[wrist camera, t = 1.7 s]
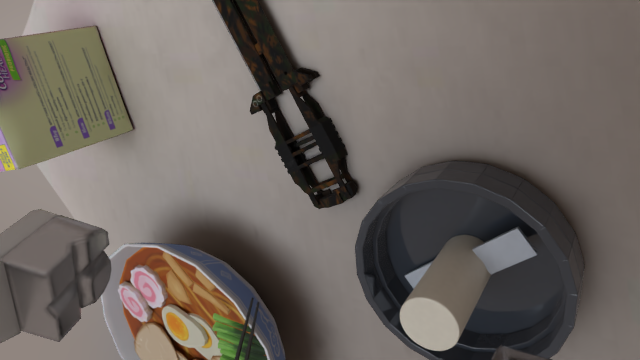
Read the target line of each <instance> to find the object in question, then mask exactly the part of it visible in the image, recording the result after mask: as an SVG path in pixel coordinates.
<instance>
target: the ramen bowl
mask: <svg viewBox="0 0 640 360" xmlns="http://www.w3.org/2000/svg"><path fill="white" fill-rule="evenodd" d="M109 259H110V260H111V269H112V270H111V276H110V280H109V282H108V285H107V287H106V289H105V291H104V293H103V294H102V295H101V301H102V307H103V313H104V319H105V322H106V324H107V326H108V328H109V331H110V333H111V335H112V338H113V340H114V342H115V345H116V347H117V350H118V352H119V354H120V356H121V358H122V359H123V360H286V358H285V351H284V348H283V344H282V341H281V338H280V335H279V332H278V329H277V325H276V322H275V319H274V318H273V316H272V315H271V313H270V312H269V310H268V309H267V307H266V306H265V304H264V303H263V301H262V300H261V298H260V297H259V295H258V294H257V292H256V291H255V289H254V288H253V287H252V286H251V285H250V284H249V283H248V282H247V281H246V280H245V279H244V278H243V277H241V276H240V275H239V274H238V273H237V272H236V271H235V270H234V269H233V268H232V267H231V266H230V265H228V264H227V263H226V262H224V261H222V260H220V259H218V258H216V257H214V256H212V255H210V254H208V253H205V252H203V251H201V250H199V249H196V248H193V247H190V246H186V245H177V244H162V243H129V244H124V245H123V246H121V247H120V248H119V249H118V250H116V251H115V252H114V253H113V254H112V255H110V256H109Z"/></svg>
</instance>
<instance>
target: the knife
mask: <svg viewBox="0 0 640 360" xmlns="http://www.w3.org/2000/svg"><path fill="white" fill-rule="evenodd" d="M212 1H213V3H214V5H215V7H216V9H217V11H218V13H219V14H220V16H221V18H222V20H223V22H224V24H225V26H226V28H227V30H228V31H229V33H230V35H231V37H232V39H233V41H234V43H235V45H236V47H237V49H238V50H239V52H240V54H241V56H242V58H243V60H244V62H245V64H246V66H247V67H248V69H249V71H250V73H251V75H252V77H253V79H254V81H255V83H256V84H257V86H258V88H259V90H260V92H258V93H257V94H255V95H254V96H253V99H252V103H251V107H250V112H251V114H254V113H256V112H259V111H261V110H263V111H264V113H265V114H266V115H267V120H268V125H269V130H270V132H271V134H272V136H273V138H274V139H275V141H276V146H275V149H276V150H278V152H279V153H278V155H279V156H281V158H282V159H281V160H282V162H284V163H285V165H284V166H285V168H287V169H288V173H289V174H290V175H291V177H292V179H293V180H294V182H295V184H297V185H298V186H300V188H301V189H302V190H303V191H304V192H305V193H307V194H308V195H309V197H310V199H311V201H312V203H313V204H314V206H315V207H317V208H319V209H321V208H328V207H332V206H335V205H338V204H341V203H343V202H344V201H346V200H347V199H349V198H352V197H353V196H354V195H356V192H357V187H356V185H355V183H354V182H353V181H352V179H351V177H350V175H349V173H348V171H347V165H346V159H345V156H346V155H348V154H347V152H346V150H345V148H344V147H345V145H344V144H342V142H341V141H342V140H341V138H339V136H338V132H337V131H335V129H334V128H335V126H334V125H332V123H331V122H332V120H331V118H330V119H329V118H327V117H325V116H324V114H323V112H322V110H321V108H320V106H319V104H318V103H317V102H316V101H315V100H314V99H313V98H312V97H310V96H309V95H308V94H307V92H306V89H308V88H310V87H309V85H308V82H310V81H312V80H313V79H315V78H317V77H318V76H319V74H318V72H316V71H312V70H309V69H305V68H299V69H297V70H293V68H292V66H291V64H290V62H289V60H288V58H287V56H286V54H285V52H284V50H283V49H282V47H281V45H280V43H279V41H278V39H277V37H276V35H275V33H274V31H273V29H272V27H271V25H270V23H269V22H268V20H267V18H266V16H265V14H264V12H263V10H262V8H261V6H260V4H259V2H258V0H236V2H237V4H238V6H239V8H240V9H241V11H242V13H243V15H244V17H245V19H246V21H247V23H248V25H249V27H250V29H251V31H252V32H253V34H254V36H255V38H256V40H257V42H258V43H257V44H255V43H254V41H253V39H252V37H251V35H250V33H249V31H248V29H247V27H246V25H245V23H244V22H243V20H242V18H241V16H240V14H239V12H238V10H237V8H236V6H235V4H234V2H233V1H232V0H212ZM262 53H264V55H265V57H266V59H267V61H268V63H269V65H270V67H271V69H272V71H273V73H274V75H275V76H276V79H277V81H278V83H279V85H280V87H281V89H282V91H284V90H287V89H289V90H290V92H291V94H292V96H293V98H294V100H295V102H296V104H297V106H298V108H299V110H300V111H301V113H302V115H303V117H304V119H305V121H306V123H307V125H308V127H309V130H307V131H305V132H303V133H301V134H299V135H297V136H295V137H294V136H293V135H292V133H291V131H290V129H289V127H288V125H287V123H286V121H285V119H284V117H283V116H282V114H281V112H280V110H279V108H278V105H277V104H276V102H275V100H274V98H275V97H276V96H278V95H279V94H281V91H280V89H279V87H278V85H277V83H276V81H275V80H274V79H273V77H272V75H271V73H270V71H269V69H268V67H267V66H266V64H265V62H264V60H263V58H262V56H261V54H262ZM301 96H302V97H303V99H304V101H305V102H304V101H303V100H302V99H301V98H300V97H301ZM274 112H275V117H276V121H275V119H274V117H273V115H272V113H274ZM276 122H277V123H276ZM309 133H312V134H313V136H311V137H309V138H306V139H304V140H302V141H300V142H298V143H297V142H296V140H297V139H299V138H301V137H303V136H305V135H307V134H309ZM313 139H315V140H316V142H314V143H312V144H310V145H308V146H306V147H304V148H302V149H300V148H299V146H300V145H302V144H304V143H307V142H309V141H311V140H313ZM316 145H318V146H319V150H320V152H322V154H320V155H318V156H315V157H313V158H311V159H309V160H307V161H306V159H305V155H303V154H302V152H304V151H306V150H308V149H310V148H312V147H314V146H316ZM323 158H325V159H326V161H327V163H328V165H329V167H330V169H331V171H332V173H333V175H334V177H333V178H330V179H328V180H325V181H323V182H321V183H318V182H317V180H316V178H315V176H314V174H313V173H312V171H311V169H310V167H309V165H310V164H312V163H314V162H317V161H319V160H321V159H323ZM340 170H341V172H342V174H340ZM343 178H345V180H346V182H347V183H346V184H344V182H343V180H342V179H343ZM336 183H338V184H339V186H340V188H337V189H334V190H333V193H332V192H331V191H330V189H328V190H326V191H323V192H322V190H321V189H324V188H326V187H329V186H331V185H334V184H336ZM310 186H311V187H312V188H311V187H310ZM314 192H317V193H318V194H316V195H314Z"/></svg>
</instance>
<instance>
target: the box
mask: <svg viewBox="0 0 640 360" xmlns="http://www.w3.org/2000/svg"><path fill="white" fill-rule="evenodd" d="M131 130H133V128H132V125H131V122H130V120H129V117H128V115H127V112H126V109H125V107H124V104H123V101H122V98H121V96H120V93H119V90H118V87H117V85H116V82H115V79H114V76H113V74H112V71H111V68H110V65H109V62H108V60H107V57H106V54H105V51H104V48H103V46H102V43H101V40H100V37H99V32H98V30H97V27H96V26H90V27H83V28H76V29H69V30H62V31H54V32H47V33H40V34H33V35H26V36H19V37H13V38H5V39H0V172H1V171H8V170H16V169H21V168H24V167H27V166H30V165H34V164H37V163H40V162H43V161H46V160H49V159H52V158H55V157H58V156H60V155H63V154H66V153H69V152H72V151H75V150H78V149H80V148H83V147H86V146H89V145H92V144H95V143H98V142H100V141H103V140H106V139H109V138H112V137H115V136H118V135H121V134H123V133H126V132H129V131H131Z"/></svg>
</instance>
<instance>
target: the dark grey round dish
mask: <svg viewBox="0 0 640 360" xmlns="http://www.w3.org/2000/svg"><path fill="white" fill-rule="evenodd" d="M516 227H519V228H520V229H521V230H522V232H523V233H524V234H525V236H526V237H527V238H528V240H529V241H530V243H531V244H532V245H533V247H534V248H535V249H536V251H537V252H538V254H537V255H536V256H533V257H531V258H529V259H526V260H524V261H522V262H519V263H517V264H515V265H512V266H510V267H507V268H505V269H503V270H500V271H498V272H496V273H493V274H491V276H490V278H489V280H488V282H487V284H486V286H485V288H484V290H483V292H482V294H481V296H480V298H479V300H478V302H477V304H476V306H475V308H474V310H473V312H472V314H471V316H470V318H469V320H468V322H467V324H466V326H465V328H464V330H463V332H462V334H461V336H460V338H459V340H458V342H457V343H456V345H454V346H453V347H452V348H450V349H448V350H444V351H434V350H429V349H426V348H424V347H422V346H420V345H418V344H417V343H415V342H414V341H413V340H412V339H411V338H410V337H409V336H408V335H407V334H406V332H405V331H404V329H403V327H402V325H401V322H400V309H401V307H402V305H403V304H404V302H405V301H406V299H407V298H408V297H409V295H410V294H411V292H412V291H413V289H414V288H413V287H412V286H411V284H410V283H409V282H408V280H407V279H406V278H405V274H407V273H409V272H411V271H413V270H415V269H417V268H419V267H421V266H423V265H425V264H427V263H429V262H431V261H434V260H435V258H436V257H437V255H438V254H439V253H440V251H441V250H442V248H443V247H444V245H445V244H446V243H447V241H448V240H450V239H451V238H453V237H455V236H458V235H470V236H474V237H476V238H479V239H480V240H482V241H483V242H486V241H489V240H491V239H493V238H495V237H497V236H499V235H501V234H503V233H505V232H507V231H510V230H512V229H514V228H516ZM355 253H356V266H357V275H358V278H359V280H360V283H361V286H362V288H363V291H364V294H365V296H366V299H367V300H368V302H369V304H370V305H371V307H372V308H373V310H374V311H375V312H376V314H377V315H378V317H379V318H380V320H381V321H382V322H383V324H384V325H385V326H386V327H387V328H388V329H389V330H390V331H391V332H392V333H393V334H394V335H396V336H397V337H398V338H399V339H400V340H401V341H402V342H403V343H404V344H405V345H406V346H408V347H409V348H410V349H412V350H414V351H416V352H417V353H419V354H421V355H422V356H424V357H426V358H428V359H429V360H492V356H493V355H494V353H495V351H496V349H497V348H498V347H499V346H500V345H502V346H506V347H510V348H513V349H517V350H520V351H524V352H527V353H531V354H534V355H538V356H541V357H545V358H548V359H549V358H550V357H552V356H554V355H555V354H557V352H559V350H560V349H561V347H562V345H563V344H564V342H565V341H566V339H567V338H568V336H569V334H570V333H571V331H572V330H573V328H574V325H575V321H576V316H577V311H578V307H579V302H580V298H581V291H582V283H583V275H584V261H583V258H582V254H581V250H580V247H579V243H578V240H577V236H576V233H575V231H574V230H573V229H572V227H571V226H570V224H569V223H568V221H567V220H566V219H565V217H564V216H563V214H562V213H561V211H560V210H559V208H558V207H557V206H556V204H555V203H554V202H553V201H552V200H551V199H549V198H548V197H547V196H546V195H544V194H543V193H542V192H540V191H539V190H538V189H537V188H535V187H534V186H533V185H532V184H530V183H529V182H528V181H526V180H525V179H523V178H521V177H518V176H516V175H514V174H511V173H509V172H506V171H504V170H501V169H499V168H496V167H494V166H492V165H489V164H483V163H473V162H464V161H449V162H444V163H439V164H434V165H429V166H424V167H422V168H420V169H418V170H416V171H415V172H413V173H411V174H410V175H408V176H406V177H405V178H403V179H401V180H400V181H398V182H397V183H396V184H395V185H394V186H393V187H392V188H390V189H389V190H388V191H387V192H386V193H385V194H384V195H383V196H382V197H381V198H380V199H379V200H378V201H377V202H376V203H375V205H374V206H373V207H372V209H371V210H370V211H369V212H368V214H367V215H366V216H365V218H364V219H363V221H362V223H361V227H360V230H359V234H358V237H357V241H356V245H355Z"/></svg>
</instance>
